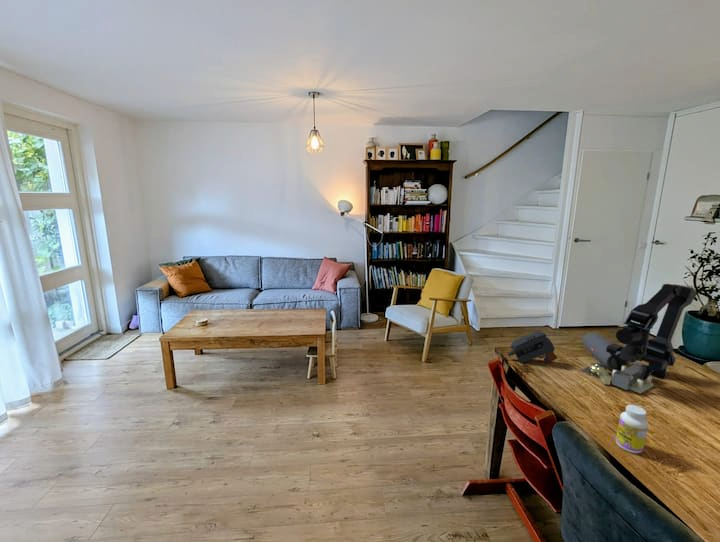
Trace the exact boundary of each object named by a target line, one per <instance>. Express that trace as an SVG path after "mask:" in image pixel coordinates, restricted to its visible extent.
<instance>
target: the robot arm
mask: <svg viewBox="0 0 720 542" xmlns="http://www.w3.org/2000/svg"><path fill="white" fill-rule="evenodd" d="M660 288H661V289H659V290H658V292H656V293H655V294H654V295H653V296H652V297H651V298H650V299H649V300H648V301H646V302H645V303H641V304H638V305H636V306H635V307H633V309H631V310H630V311H629V313H628V315H627V317H626V318H625V319H624V321H623V325H624V326H623V327H622V328H621V329H618V330H617V331H616V332H615V338H616V340H618V342H619V343H621V344H623V345H625V346H623V345H621V344H618V343H614V342H613V343H611V345H608V346H607V347H606V352H609V353H610V355H612V356H613V357H614V358H615V360H616V363H617V367H618V370H619V371H621V368H622V364H623V360H627V361H628V363H631V364H632V363H634V362H645V363H648V365H647V366H646V372H645V375H644V381H645V380H646V379H647V378H648V377H649V376H650V375H652V377H656V378H659V379H662V380H663V379H665V378H667V377H668V376H670V373H667V370H668V367H669V366H671V367H674V364H675V363H676V357H675V355H674V353H673V351H674V347H673V343H672V339H673V337H674V333H675V332H676V331H675V330H676V328H677V326H678V323H679V321H680V318H681V316H682V313H683V311H684V309H685V308H686V307H688V306H690V305H691V304H692V302H693V301H694V300H695V299H696V297H697V291H696V290H695V288H694V287H691V286H686V285H680V284H674V283H673V284H669V283H663V284H662V285H661V287H660ZM666 306H667V307H666ZM665 307H666V310H665V312H664V315H663V318H662V319H661V323H660V326H659V328H658V330H657V332H656V335H655V337H653V338H652V339H649V338H650V333H651V330H652V329H653V328H654V325H656V323H657V322H658V319H659V312H661V311H662V309H664V308H665Z"/></svg>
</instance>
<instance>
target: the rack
mask: <svg viewBox="0 0 720 542" xmlns="http://www.w3.org/2000/svg"><path fill="white" fill-rule="evenodd" d="M627 368H628V365H627V366H625V365H622V368H621V371H623V370H625V369H627ZM616 371H617V370H612V372H611V373H612V376H611V380H610V383H612V380H613V375H614V372H616ZM652 378H653V375H650V376H649V377H648V378H647V379H646V380H645V381H644V380H643V379H642V380H641V379H638V380H637V383H635V384H633V385H632V388H630V389H629V390H630V391H633V392H636V393H638V394H642V393H643V392H645V391H647V390H648V389H650V388H652V387H653V386H654V383H653V382H652Z"/></svg>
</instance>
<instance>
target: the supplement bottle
mask: <svg viewBox="0 0 720 542" xmlns="http://www.w3.org/2000/svg"><path fill="white" fill-rule="evenodd" d="M646 416H647V411H646V410H645V408H642V407H640V406H638V405H635V404H627V405H626V407H625V411H623V412H621V413H620V417H619V421H618V425H617V430H616V434H615V443H616V444H617V445H618V446H619V447H620V448H621V449H623V450H624V451H626V452H629V453H631V454H640V453H642V452H643V451H644V447H645V442H646V439H647V434H648V430H649V422H648V419H646Z"/></svg>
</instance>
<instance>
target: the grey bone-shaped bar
mask: <svg viewBox="0 0 720 542" xmlns="http://www.w3.org/2000/svg"><path fill="white" fill-rule="evenodd" d="M646 366H648V365H647V364H644V363H641V362H640V361H635V362H634V363H631V366H629V367H627V369H625V370H623V371H619V370H618V371H616V372H614V375H613V380H612V382H611V384H612V385H613V386H615V387H618V388H620V389H623V390H625V391H628V390H630V388H632V385H633V384H635V383H637V380H638V379H641V380H642V379H643V380H644V375H645V372H646Z"/></svg>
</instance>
